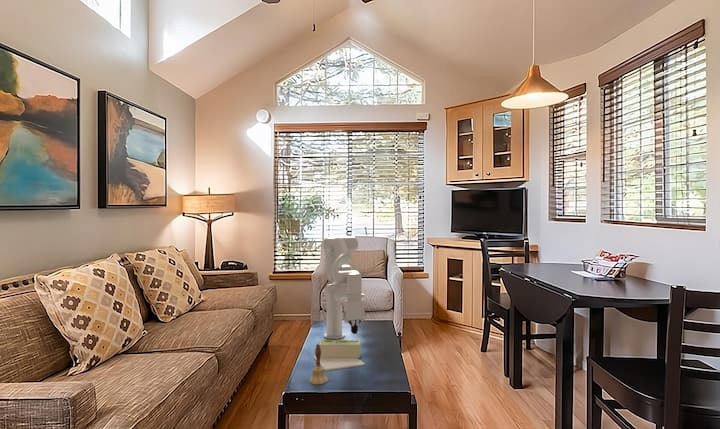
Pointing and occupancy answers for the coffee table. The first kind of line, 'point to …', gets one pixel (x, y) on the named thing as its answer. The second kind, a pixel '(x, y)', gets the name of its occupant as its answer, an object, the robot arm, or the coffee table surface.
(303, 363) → the coffee table surface
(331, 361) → the sheet of paper
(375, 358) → the coffee table surface
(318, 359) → the hand bell
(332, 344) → the toy refrigerator
